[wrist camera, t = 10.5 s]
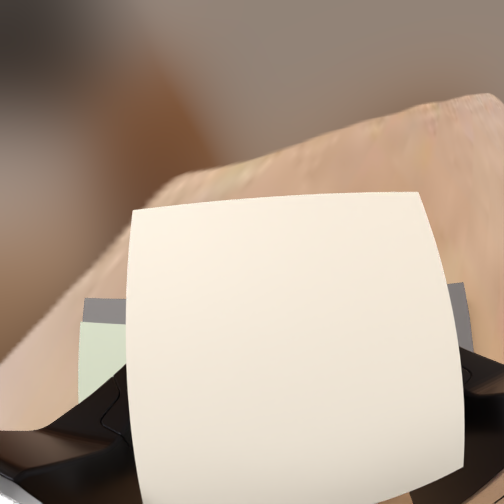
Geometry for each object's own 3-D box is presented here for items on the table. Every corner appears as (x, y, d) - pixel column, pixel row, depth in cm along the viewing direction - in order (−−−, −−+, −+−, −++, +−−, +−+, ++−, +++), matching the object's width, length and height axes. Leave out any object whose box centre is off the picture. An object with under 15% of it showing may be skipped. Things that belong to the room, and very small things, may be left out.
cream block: (316, 309, 14) (417, 192, 5) (328, 410, 12) (463, 466, 3) (212, 318, 14) (132, 210, 5) (220, 421, 12) (147, 520, 3)
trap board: (451, 288, 23) (465, 281, 21) (462, 432, 18) (476, 435, 16) (96, 303, 23) (83, 297, 21) (97, 459, 18) (84, 466, 15)
